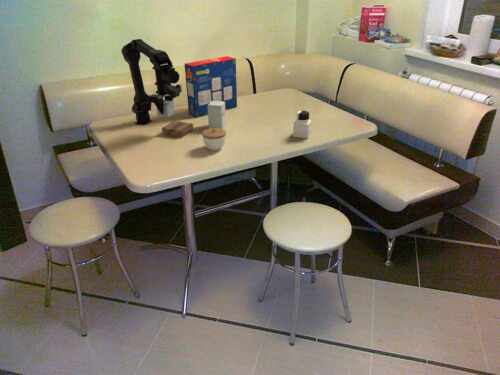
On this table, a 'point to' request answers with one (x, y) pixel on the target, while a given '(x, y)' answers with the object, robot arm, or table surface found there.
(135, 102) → the robot arm
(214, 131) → the lidded jar
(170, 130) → the walnut block
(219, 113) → the supplement box
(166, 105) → the slate cube
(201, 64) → the blue board game box
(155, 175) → the table surface
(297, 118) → the medicine bottle
